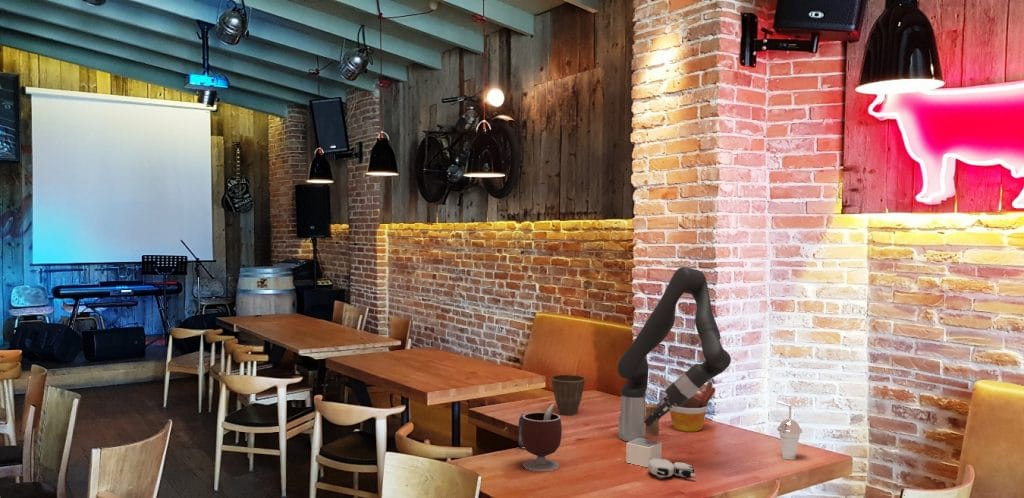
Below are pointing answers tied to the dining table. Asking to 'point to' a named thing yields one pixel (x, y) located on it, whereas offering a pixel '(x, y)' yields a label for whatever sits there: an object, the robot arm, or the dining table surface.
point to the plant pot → (568, 392)
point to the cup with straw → (789, 436)
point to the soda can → (520, 431)
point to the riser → (643, 451)
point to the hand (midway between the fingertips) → (646, 422)
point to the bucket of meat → (692, 411)
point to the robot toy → (670, 468)
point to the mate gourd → (541, 438)
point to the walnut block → (654, 427)
